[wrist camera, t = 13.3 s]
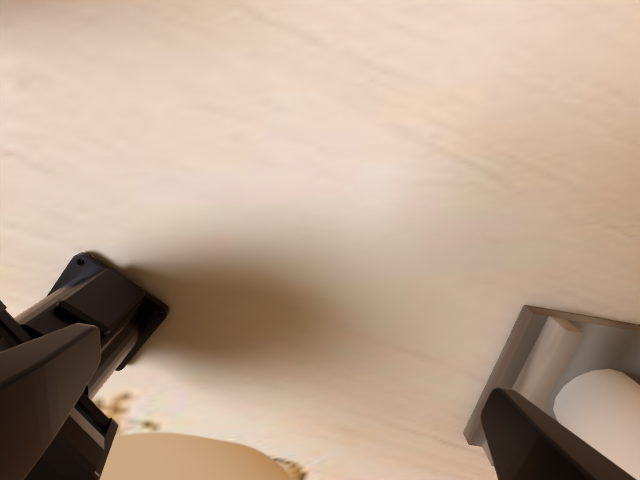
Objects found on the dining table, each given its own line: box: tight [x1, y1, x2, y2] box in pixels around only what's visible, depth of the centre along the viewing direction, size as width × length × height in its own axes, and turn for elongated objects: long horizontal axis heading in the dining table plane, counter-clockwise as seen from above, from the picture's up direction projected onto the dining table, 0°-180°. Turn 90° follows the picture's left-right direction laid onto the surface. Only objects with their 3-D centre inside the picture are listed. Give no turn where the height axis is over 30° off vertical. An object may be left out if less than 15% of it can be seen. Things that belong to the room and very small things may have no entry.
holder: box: [463, 305, 640, 466], centre depth 21 cm, size 13×12×8 cm
